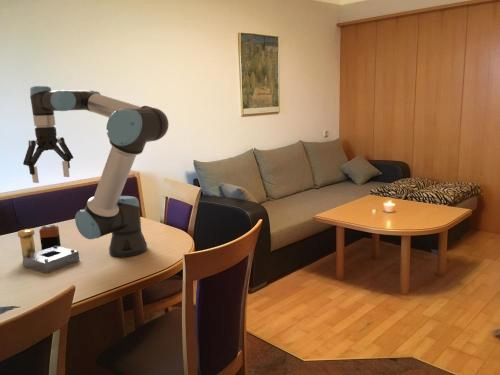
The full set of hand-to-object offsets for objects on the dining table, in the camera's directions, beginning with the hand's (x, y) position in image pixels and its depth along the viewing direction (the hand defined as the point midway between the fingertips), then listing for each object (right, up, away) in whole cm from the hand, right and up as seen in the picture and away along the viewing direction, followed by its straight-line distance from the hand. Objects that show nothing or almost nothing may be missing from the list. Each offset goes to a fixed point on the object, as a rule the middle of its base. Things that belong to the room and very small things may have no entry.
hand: (51, 179), depth 171 cm
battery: (-5, -29, +11) cm, 32 cm away
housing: (+3, -33, -7) cm, 34 cm away
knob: (-8, -32, -2) cm, 33 cm away
